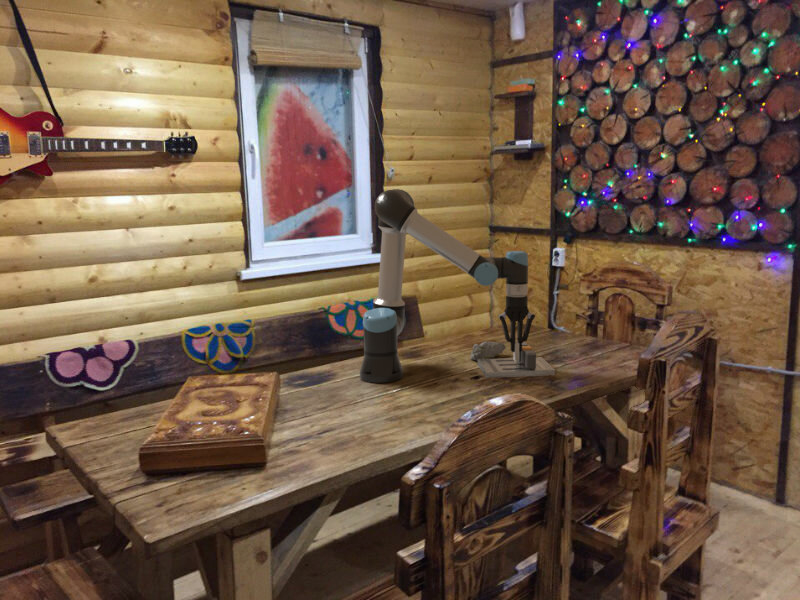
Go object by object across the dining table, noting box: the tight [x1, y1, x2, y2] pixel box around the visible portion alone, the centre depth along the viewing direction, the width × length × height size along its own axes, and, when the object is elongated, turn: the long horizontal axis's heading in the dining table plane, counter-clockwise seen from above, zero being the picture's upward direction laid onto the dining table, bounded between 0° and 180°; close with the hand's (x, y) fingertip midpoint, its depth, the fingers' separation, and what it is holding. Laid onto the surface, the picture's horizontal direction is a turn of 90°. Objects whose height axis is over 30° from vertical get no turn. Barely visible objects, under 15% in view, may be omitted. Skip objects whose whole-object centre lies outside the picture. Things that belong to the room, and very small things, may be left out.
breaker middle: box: [521, 345, 533, 365], centre depth 233 cm, size 3×4×6 cm
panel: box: [477, 356, 556, 379], centre depth 233 cm, size 24×17×2 cm
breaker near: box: [525, 349, 537, 369], centre depth 227 cm, size 3×4×6 cm
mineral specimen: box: [470, 340, 507, 362], centre depth 250 cm, size 16×7×7 cm, turn 121°
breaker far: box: [519, 341, 529, 361], centre depth 238 cm, size 3×4×6 cm
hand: (516, 360), depth 233 cm, fingers closed
